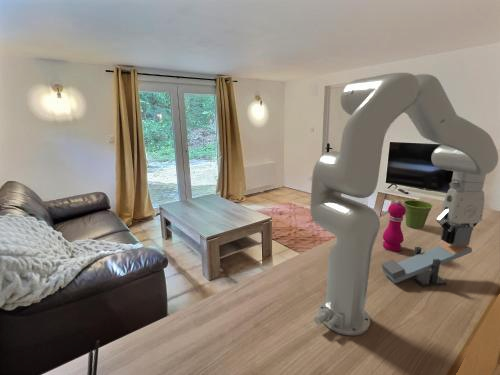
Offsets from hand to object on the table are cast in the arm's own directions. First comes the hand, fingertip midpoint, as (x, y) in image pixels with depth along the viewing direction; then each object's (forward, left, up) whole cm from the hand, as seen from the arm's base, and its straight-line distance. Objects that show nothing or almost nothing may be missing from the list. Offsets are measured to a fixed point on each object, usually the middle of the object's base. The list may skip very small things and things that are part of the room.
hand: (454, 240), depth 84 cm
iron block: (0, 0, -1) cm, 1 cm away
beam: (-7, +4, -6) cm, 11 cm away
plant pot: (+35, +24, -13) cm, 44 cm away
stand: (-7, +4, -12) cm, 15 cm away
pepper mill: (+5, +20, -13) cm, 24 cm away
